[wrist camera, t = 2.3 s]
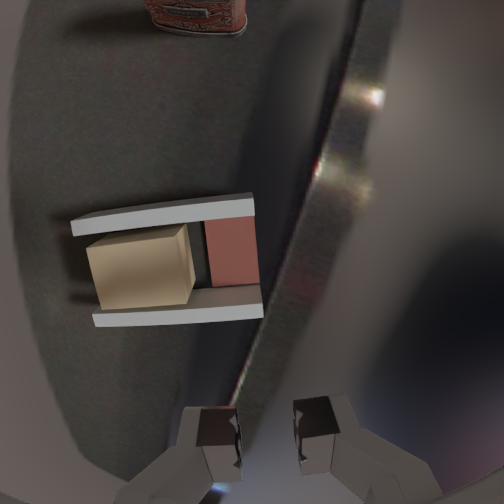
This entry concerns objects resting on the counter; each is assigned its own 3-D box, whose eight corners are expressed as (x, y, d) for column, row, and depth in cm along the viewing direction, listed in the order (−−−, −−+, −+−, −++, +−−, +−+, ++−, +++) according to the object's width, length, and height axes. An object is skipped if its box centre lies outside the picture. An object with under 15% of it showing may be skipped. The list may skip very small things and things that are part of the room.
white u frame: (91, 212, 26) (70, 221, 22) (251, 192, 26) (253, 198, 22) (111, 306, 28) (95, 326, 24) (260, 296, 28) (263, 317, 24)
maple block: (110, 232, 26) (86, 248, 22) (186, 222, 26) (174, 236, 22) (122, 286, 28) (101, 309, 23) (195, 279, 28) (186, 303, 23)
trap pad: (203, 214, 26) (203, 215, 26) (253, 209, 26) (253, 210, 26) (213, 285, 28) (212, 286, 28) (259, 281, 28) (259, 282, 28)
